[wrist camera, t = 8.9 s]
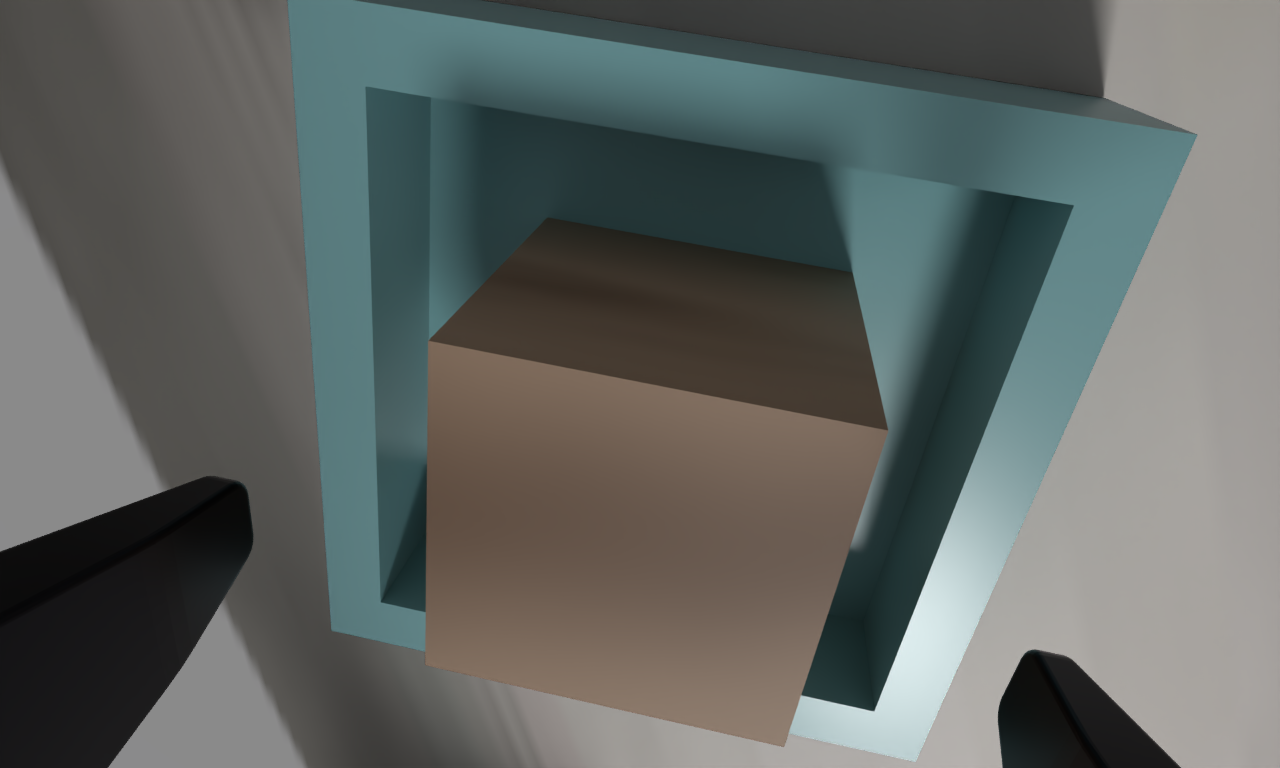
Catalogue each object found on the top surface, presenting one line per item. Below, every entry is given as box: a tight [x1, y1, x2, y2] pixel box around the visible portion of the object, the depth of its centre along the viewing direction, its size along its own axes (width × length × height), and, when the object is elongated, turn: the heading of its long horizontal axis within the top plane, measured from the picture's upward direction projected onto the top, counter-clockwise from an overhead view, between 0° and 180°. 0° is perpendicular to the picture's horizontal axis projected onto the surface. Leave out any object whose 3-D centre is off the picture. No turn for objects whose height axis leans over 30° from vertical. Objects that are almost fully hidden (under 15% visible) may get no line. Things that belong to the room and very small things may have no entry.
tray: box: [287, 0, 1197, 762], centre depth 13 cm, size 11×11×3 cm
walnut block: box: [425, 217, 888, 747], centre depth 12 cm, size 5×5×5 cm
